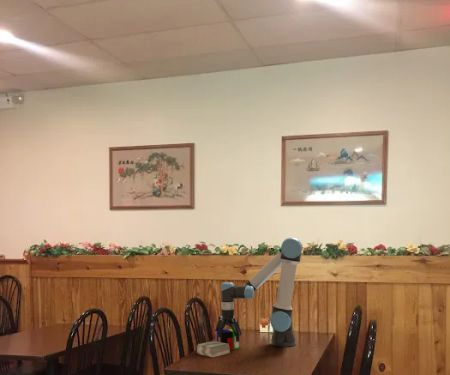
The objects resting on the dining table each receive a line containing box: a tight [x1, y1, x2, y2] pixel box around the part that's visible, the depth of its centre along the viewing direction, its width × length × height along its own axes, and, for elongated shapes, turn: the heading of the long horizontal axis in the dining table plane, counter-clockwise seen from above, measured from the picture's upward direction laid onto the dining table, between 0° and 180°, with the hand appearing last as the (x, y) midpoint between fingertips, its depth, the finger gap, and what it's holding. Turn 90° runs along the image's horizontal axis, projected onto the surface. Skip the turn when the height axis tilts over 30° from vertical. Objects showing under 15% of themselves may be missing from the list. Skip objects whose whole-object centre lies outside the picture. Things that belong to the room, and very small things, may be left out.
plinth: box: [196, 340, 231, 358], centre depth 266 cm, size 13×13×5 cm
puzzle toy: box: [216, 328, 239, 351], centre depth 278 cm, size 10×10×10 cm
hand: (228, 345), depth 278 cm, fingers open, 13 cm apart
